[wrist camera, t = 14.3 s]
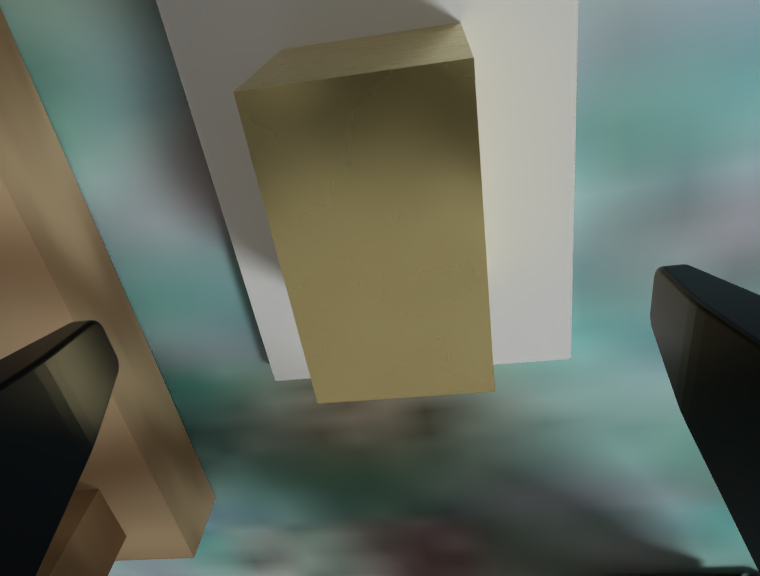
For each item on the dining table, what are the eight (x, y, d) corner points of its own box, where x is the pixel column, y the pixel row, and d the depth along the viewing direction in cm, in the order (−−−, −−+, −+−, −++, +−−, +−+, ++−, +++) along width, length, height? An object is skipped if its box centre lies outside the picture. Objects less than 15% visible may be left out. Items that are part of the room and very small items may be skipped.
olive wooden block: (479, 294, 16) (494, 391, 13) (338, 307, 17) (317, 403, 13) (460, 22, 13) (474, 57, 9) (281, 49, 13) (233, 92, 10)
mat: (566, 345, 18) (570, 358, 17) (279, 369, 19) (275, 381, 18) (574, -137, 12) (581, -140, 11) (149, -59, 13) (137, -58, 12)
